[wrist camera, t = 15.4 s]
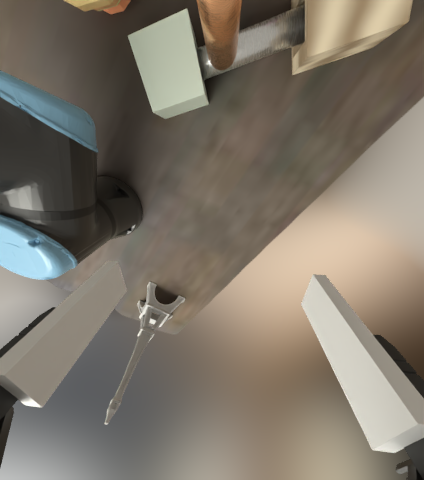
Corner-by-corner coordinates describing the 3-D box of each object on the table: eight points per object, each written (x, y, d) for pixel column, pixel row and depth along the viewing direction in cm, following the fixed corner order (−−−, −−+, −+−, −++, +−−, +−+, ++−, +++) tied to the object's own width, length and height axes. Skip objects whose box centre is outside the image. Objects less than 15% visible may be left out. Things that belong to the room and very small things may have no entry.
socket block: (165, 119, 33) (152, 112, 27) (146, 58, 29) (127, 35, 23) (208, 104, 31) (204, 94, 26) (195, 37, 27) (187, 8, 22)
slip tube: (177, 96, 30) (122, 35, 14) (168, 64, 28) (94, -47, 12) (306, 49, 26) (425, -107, 10) (306, 8, 24) (454, -261, 8)
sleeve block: (292, 75, 28) (307, 57, 23) (290, -2, 24) (308, -45, 19) (371, 48, 26) (408, 21, 21) (384, -42, 22) (433, -102, 17)
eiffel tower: (137, 303, 60) (67, 422, 34) (149, 281, 54) (76, 403, 28) (170, 318, 62) (128, 439, 36) (185, 298, 57) (149, 425, 30)
